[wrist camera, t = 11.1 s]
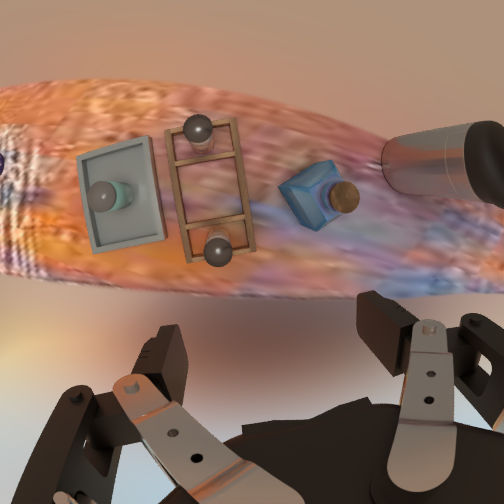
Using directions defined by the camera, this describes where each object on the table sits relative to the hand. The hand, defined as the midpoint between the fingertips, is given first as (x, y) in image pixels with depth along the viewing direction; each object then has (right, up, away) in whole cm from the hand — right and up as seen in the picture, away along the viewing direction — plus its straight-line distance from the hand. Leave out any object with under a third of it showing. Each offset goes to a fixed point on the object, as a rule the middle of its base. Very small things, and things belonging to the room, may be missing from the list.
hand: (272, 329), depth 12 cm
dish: (-18, +11, +23) cm, 31 cm away
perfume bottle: (+7, +11, +26) cm, 29 cm away
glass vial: (-7, +17, +23) cm, 30 cm away
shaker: (-18, +11, +22) cm, 31 cm away
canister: (-5, +5, +26) cm, 27 cm away
